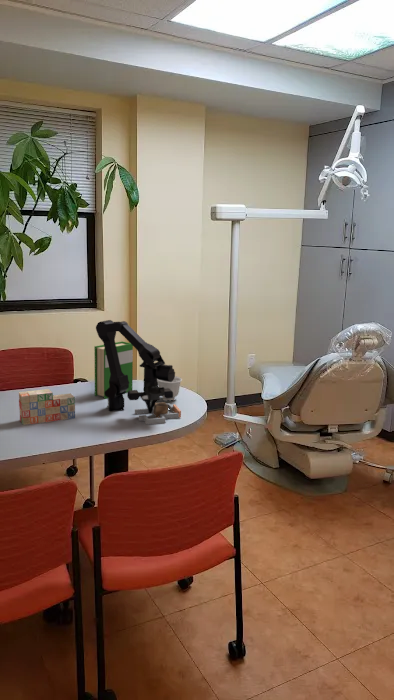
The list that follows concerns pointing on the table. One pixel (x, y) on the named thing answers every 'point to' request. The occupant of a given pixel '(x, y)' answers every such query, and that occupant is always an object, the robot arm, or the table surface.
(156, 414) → the walnut block
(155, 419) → the trap lane
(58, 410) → the stack of blocks
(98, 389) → the hardback book
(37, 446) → the table surface
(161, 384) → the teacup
